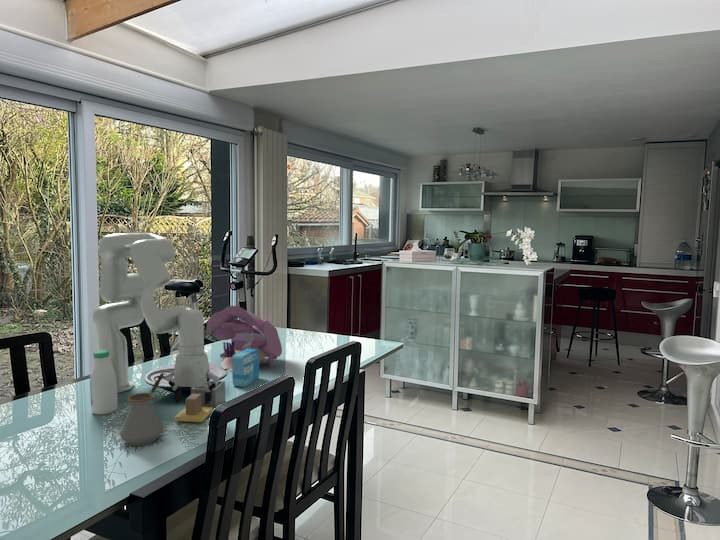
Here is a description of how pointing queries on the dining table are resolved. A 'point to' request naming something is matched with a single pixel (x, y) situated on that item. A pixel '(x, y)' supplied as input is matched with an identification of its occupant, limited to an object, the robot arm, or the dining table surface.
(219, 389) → the box
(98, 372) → the milk bottle
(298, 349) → the dining table surface
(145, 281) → the robot arm
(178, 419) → the lid
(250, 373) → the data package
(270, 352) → the pink curved piece
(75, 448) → the dining table surface
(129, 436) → the coffee pot
